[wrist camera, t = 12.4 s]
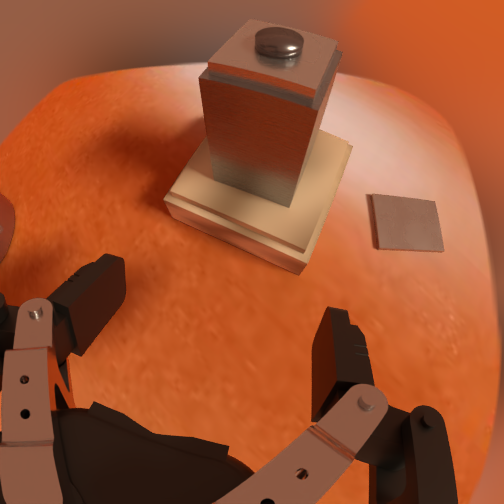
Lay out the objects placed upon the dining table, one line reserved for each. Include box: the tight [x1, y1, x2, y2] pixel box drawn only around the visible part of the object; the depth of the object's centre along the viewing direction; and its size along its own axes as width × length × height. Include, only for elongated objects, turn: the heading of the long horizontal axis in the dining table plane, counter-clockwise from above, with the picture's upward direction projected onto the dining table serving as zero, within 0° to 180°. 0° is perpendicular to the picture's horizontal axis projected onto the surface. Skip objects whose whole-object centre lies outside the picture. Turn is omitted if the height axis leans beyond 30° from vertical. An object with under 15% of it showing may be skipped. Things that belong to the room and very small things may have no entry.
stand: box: [163, 129, 353, 275], centre depth 23 cm, size 11×11×4 cm
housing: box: [199, 19, 342, 208], centre depth 16 cm, size 6×6×11 cm
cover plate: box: [371, 194, 444, 253], centre depth 24 cm, size 7×5×1 cm
